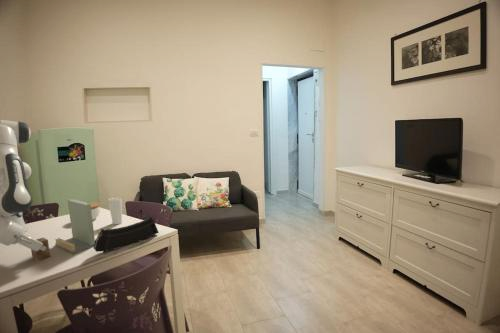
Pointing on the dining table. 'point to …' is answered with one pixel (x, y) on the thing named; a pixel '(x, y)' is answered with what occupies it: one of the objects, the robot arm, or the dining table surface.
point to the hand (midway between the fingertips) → (41, 247)
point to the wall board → (79, 228)
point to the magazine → (125, 235)
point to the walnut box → (41, 254)
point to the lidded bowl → (95, 210)
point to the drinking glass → (116, 210)
